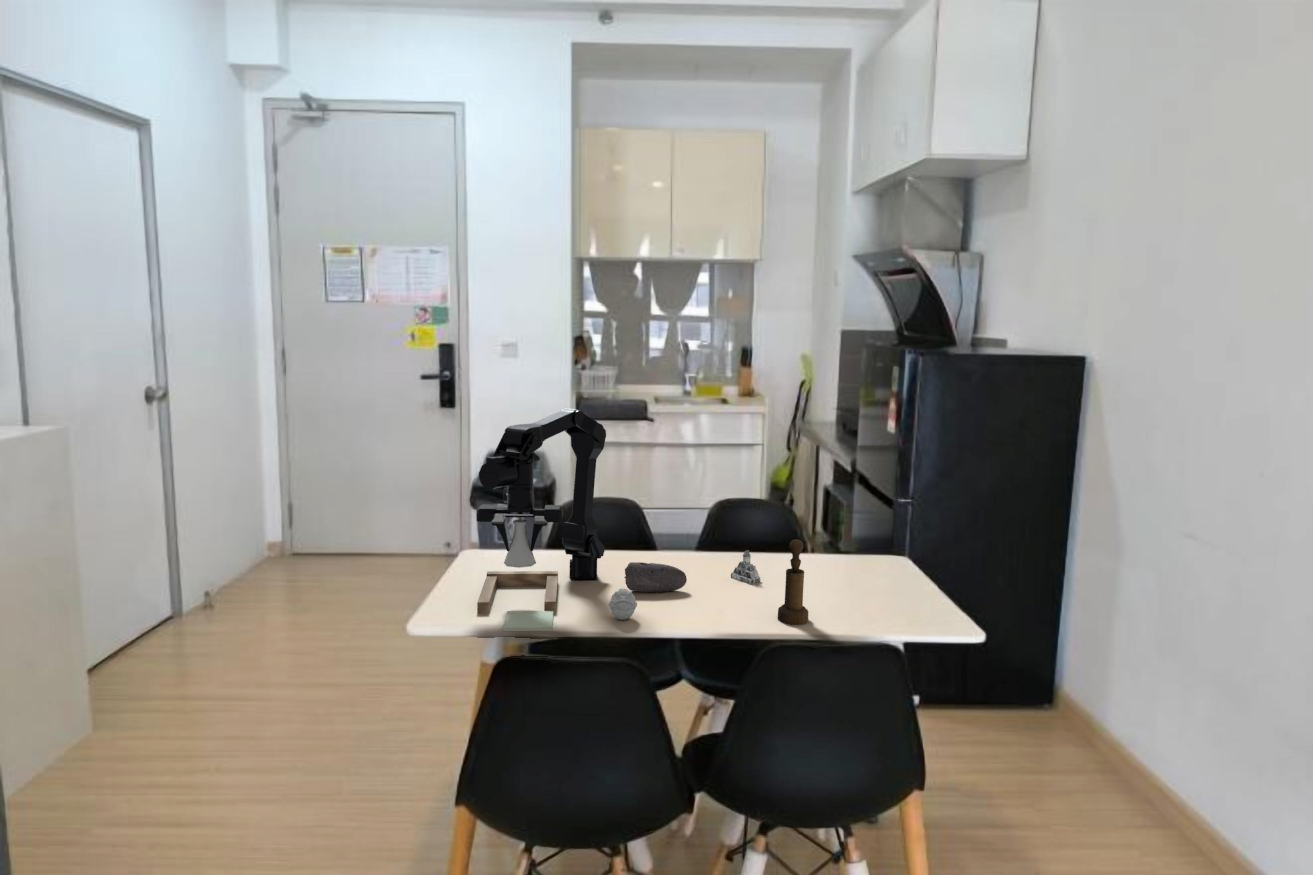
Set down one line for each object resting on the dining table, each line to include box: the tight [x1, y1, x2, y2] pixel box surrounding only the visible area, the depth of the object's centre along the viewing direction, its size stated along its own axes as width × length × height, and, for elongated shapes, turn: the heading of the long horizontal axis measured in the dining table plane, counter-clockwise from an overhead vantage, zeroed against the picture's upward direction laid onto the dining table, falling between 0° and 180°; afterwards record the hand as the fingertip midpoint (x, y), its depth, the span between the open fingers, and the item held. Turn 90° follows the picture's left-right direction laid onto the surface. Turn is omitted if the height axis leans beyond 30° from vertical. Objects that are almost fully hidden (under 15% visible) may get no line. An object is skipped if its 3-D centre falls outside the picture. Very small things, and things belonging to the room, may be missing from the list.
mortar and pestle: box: [777, 539, 809, 626], centre depth 183 cm, size 7×6×18 cm
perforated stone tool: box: [624, 561, 688, 593], centre depth 202 cm, size 15×5×7 cm, turn 92°
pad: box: [502, 610, 554, 632], centre depth 179 cm, size 10×10×1 cm
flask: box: [503, 518, 537, 569], centre depth 190 cm, size 7×7×10 cm
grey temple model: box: [730, 549, 761, 585], centre depth 214 cm, size 9×9×8 cm
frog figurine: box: [608, 588, 638, 621], centre depth 182 cm, size 6×7×7 cm
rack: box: [476, 570, 559, 614], centre depth 195 cm, size 17×21×3 cm
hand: (520, 550), depth 190 cm, fingers closed on flask, 5 cm apart
